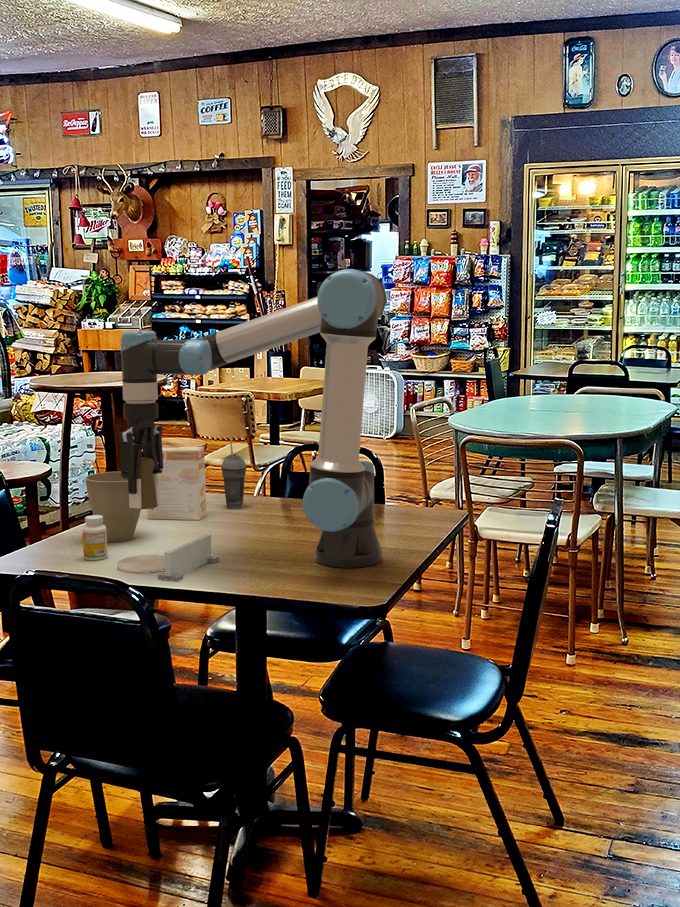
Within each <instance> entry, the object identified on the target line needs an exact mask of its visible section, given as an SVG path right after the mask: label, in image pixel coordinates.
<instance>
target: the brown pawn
mask: <svg viewBox="0 0 680 907" xmlns="http://www.w3.org/2000/svg"><path fill="white" fill-rule="evenodd" d="M153 470H154V461H153V460H152V459H151V458H147V457H144V456H141V461H140V469H139V476H138V479H141V499H142V508H141V510H148V509H151V508H155V507H157V506H158V505H157V499H156V493H155V487H154V481H153V475H152V471H153ZM132 509H137V508H132Z"/></svg>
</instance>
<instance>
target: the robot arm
mask: <svg viewBox="0 0 680 907" xmlns="http://www.w3.org/2000/svg"><path fill="white" fill-rule="evenodd" d="M386 304H387V293H386V290H385V287H384V285H383V283H382V282H381V281H380V279H379V278H378V277H377V276H375V275H373V274H372V273H369V272H366V271H361V270H359V269H353V268H346V269H345V268H344V269H340V270H338V271H335V272H333V273H332V274H330V275H329V276H327V278H325V280H323V282H322V283H321V285H320V287H319V289H318V292H317V296H315V297H312V298H310V299H307V300H304V301H301V302H299V303H296V304H295V303H294V304H293V305H291V306H287V307H285V308H281V309H278V310H276V311H273V312H270V313H268V314H265V315H262V316H260V317H256V318H253V319H251V320H247V321H244V322H243V323H240V324H237V325H234V326H230V327H228V328H225V329H222V330H220V331H217V332H214V333H211V334H207V335H204V336H203V337H198V338H192V339H187V338H186V339H166V340H165V339H158V338H157V335H156V334H157V333H156V331H154V330H125V331H123V332H122V334H121V338H120V339H121V340H120V354H121V356H120V359H121V374H122V375H121V376H122V379H121V380H122V400H123V401H125V402H124V403H123V405H122V410H123V411H122V414H123V419H124V420H126V421H127V422H128V424H127V428H126V431H120V432H119V439H120V472H121V477H123V478H124V479H128V492H129V508H137V509H141V508H142V499H141V479H138V476H139V469H140V461H141V457H142V453H143V457H147V458H151V459H152V460H153V461H154V470H153V471H152V475H153V481H154V487H155V493H156V499H157V503H158V475H157V474H158V473H162V470H160V469H163V453H162V447H163V442H162V441H163V440H162V437H163V436H162V434H163V426H162V425H156V424H155V420H157V419H158V418H159V403H158V402H157V400H159V394H158V375H163V376H164V375H175V376H177V375H178V376H190V377H192V376H193V377H194V376H201V375H204V376H205V374H208V372H211V371H215V370H216V369H218V368H219V367H222V366H225V365H227V364H230V363H233V362H236V361H238V360H242V359H245V358H248V357H250V356H253V355H254V356H255V355H257V354H260V353H262V352H266V351H269V350H272V349H275V348H277V347H280V346H283V345H287V344H289V343H291V342H292V343H293V342H295V341H298V340H301V339H303V338H307V337H310V336H313V335H316V334H320V336H321V338H323V339H324V341H325V343H326V348H325V359H324V360H325V361H324V362H325V363H324V365H325V366H324V374H323V388H322V402H321V416H320V430H319V442H318V455H317V457H316V458H315V459H314V460H312V461H311V463H310V467H309V478H308V486H307V487H306V489H305V491H304V494H303V498H302V510H303V512H304V515H305V516H306V519H307V520H308V521H310V523H311V524H312V525H313V526H314V527H316V528H317V529H320V530H321V532H320V536H319V539H318V542H317V544H316V549H315V562H317V563H318V564H320V565H322V566H327V567H332V568H347V569H348V568H350V569H351V568H360V567H361V568H363V567H364V568H365V567H369V566H374V565H376V564H379V563H381V561H382V559H383V556H382V555H383V553H382V552H383V550H382V547H381V543H380V541H379V538H378V534H377V532H376V528H375V477H376V473H375V468H374V467H375V466H374V464H373V462H371V461H369V460H360V448H361V436H362V425H363V413H364V412H363V411H364V398H365V387H366V375H367V374H366V373H367V362H368V351H369V350H368V349H369V346H370V344H372V342H374V341H375V340H376V339H377V330H378V320H379V318H380V317H381V315H382V314H383V312H384V310H385V309H386V308H385V307H386ZM158 463H159V464H158ZM141 510H142V509H141Z"/></svg>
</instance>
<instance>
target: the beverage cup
mask: <svg viewBox="0 0 680 907" xmlns="http://www.w3.org/2000/svg"><path fill="white" fill-rule="evenodd" d="M232 441H233V439H232V438H229V445H230V454H229V455H227V456H226V457H225V458H224V459H223V461H222V463H221V469H220V470H221V474H222V477H223V478H222V479H223V486H224V496H225V502H226V509H228V510H240V508H241V509H243V508H244V507H243V505H244V494H245V480H246V473H247V465H246V464H247V463H246V462H245V460H244V458H243V457H242V456H240V455H238V454H234V452H233V451H234V450H233V442H232ZM242 507H243V508H242Z"/></svg>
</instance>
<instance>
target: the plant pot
mask: <svg viewBox="0 0 680 907" xmlns="http://www.w3.org/2000/svg"><path fill="white" fill-rule="evenodd" d="M84 481H85V486H86V487H85V488H86V492H87V497H88V502H89V505H90V508H91V512H92V515H101V516H103V523H102V525H105V526H106V530H107V542H109V543H110V542H112V543H113V542H115V543H118V542H119V543H120V542H127V541H129V540H132V539H133V537H134V534H135V531H136V529H137V525H138V523H139V519H140V514H141V511H142V509H132V508H129V492H128V479H124V478H123V477H121V471H108V472H107V471H105V472H96V473H92V474H88V475H86V476H85V477H84Z"/></svg>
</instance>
